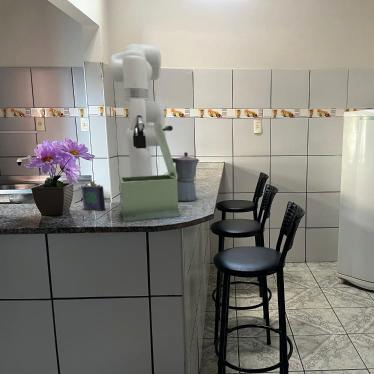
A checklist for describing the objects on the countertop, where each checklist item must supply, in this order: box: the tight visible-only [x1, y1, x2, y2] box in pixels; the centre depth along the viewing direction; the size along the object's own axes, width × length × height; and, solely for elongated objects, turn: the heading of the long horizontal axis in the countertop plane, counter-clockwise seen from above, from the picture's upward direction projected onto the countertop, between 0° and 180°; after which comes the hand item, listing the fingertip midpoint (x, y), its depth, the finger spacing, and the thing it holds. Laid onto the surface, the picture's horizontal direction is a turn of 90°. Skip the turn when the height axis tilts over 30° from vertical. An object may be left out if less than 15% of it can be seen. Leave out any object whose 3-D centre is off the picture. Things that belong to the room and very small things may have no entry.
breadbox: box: [119, 174, 180, 223], centre depth 125 cm, size 18×15×13 cm
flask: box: [81, 180, 106, 211], centre depth 136 cm, size 9×3×11 cm, turn 72°
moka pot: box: [168, 152, 200, 202], centre depth 151 cm, size 10×15×20 cm, turn 134°
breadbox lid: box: [152, 123, 178, 179], centre depth 126 cm, size 18×15×5 cm
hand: (139, 147), depth 123 cm, fingers open, 9 cm apart
